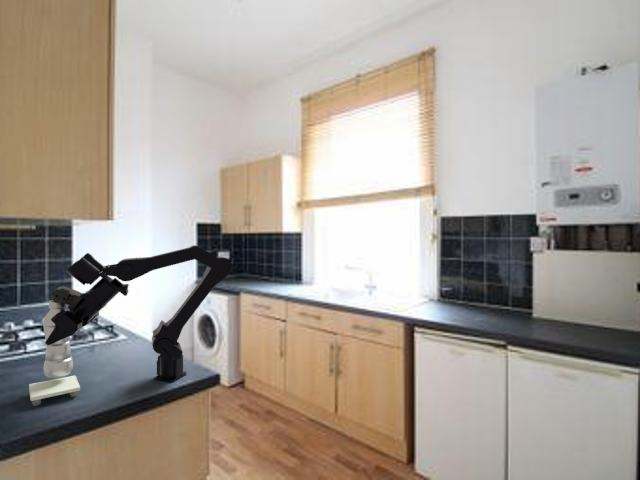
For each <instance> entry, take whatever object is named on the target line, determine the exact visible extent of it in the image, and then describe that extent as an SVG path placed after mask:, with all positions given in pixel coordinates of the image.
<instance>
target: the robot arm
mask: <svg viewBox="0 0 640 480" xmlns="http://www.w3.org/2000/svg"><path fill="white" fill-rule="evenodd" d="M194 260H196V261H197V262H199V263H201V264H202V265H204V266H206V268H205V270H204V272H203V275H202V277H201V280H200V281H199V282H198V284H197V285H196V286H195V288H194V289H193V290H192V291H191V293H190V294H189V295H188V296H187V298H186V299H185V300H184V302H183V303H182V305H180V307H179V308H178V309H177V311H176V312H175V313H174V315H172V317H171V318H170V319H169V320H167V321H166V322H165V321H163V320H161V321H160V322H159V324H158V326H157V327H156V328H155V329H154V330H152V336H151V344H152V349H153V351H154V352H155V353H156V354H158V355H157V361H156V376H154V377H153V380H156V381H157V380H158V381H163V382H164V381H165V382H175V381H176V380H179V379H181V378H182V377H184V376H185V375H187V371H184V354H183V352H184V351H183V350H182V349H183V348H182V347H181V344H180V343H179V342H178V340H179V338H180V336H181V333H182V331H183V329H184V327H185V325H186V324H187V323H188V321H189V320H190V319H191V317H192V316H193V315H194V313H195V312H196V311H197V310H198V309H199V307H200V305H201V304H202V303H203V301H204V300H205V299H206V298H207V297H208V295H209V294H210V292H211V291H212V290H213V289H214V288H215V287H216V286H217V285H219V284H220V283H221V282H222V281H224V280H225V278H226V277H228V276H229V275H230V274H231V272H232V270H233V267H232V266H233V265H232V262H231V261H230V260H229V259H228V258H226V257H223V256H216V255H214V254H212V253H211V252H208V251H207V250H205V249H204V248H202V247H200V246H199V245H191V246H188V247H186V248H181V249H177V250H173V251H169V252H165V253H160V254H157V255H152V256H147V257H131V258H123V259H121V260H120V261H118V263H116V264H115V263H114V264H107V265H103V264H102V263H101V262H100V261H98V260H97V259H96V258H94V256H93V255H92V254H91V253H89V252H87V253H85V255H84V256H82V257H81V258H79V259H78V260H76V261H75V262H73V263H72V264H71V265H70V266H69V267H68V268H67V269H66V270H65V272H66V273H67V274H69V275H70V276H71V277H73V278H74V279H75V280H77V281H78V282H79V283H80V284H82V285H83V286H85V285H89V286H91V285H92V284H94V283H95V282H96V281H97V280H98V279H99V278H101V279H100V280H98V281H97V282H96V283H95V284H94V285H93V286H92V287H91V288H89V290H87V291H85V292H80V291H78V290H76V289H73V288H71V287H68V286H64V285H62V286H59V287H56V289H55V291H53V292H52V297H51V300H53V301H58V302H61V303H64V304H66V308H67V309H68V310H67V309H66V310H67V311H61V312H59V313H57V314H56V315H55V316H54V317H53V318H52V319H51V321H52V322H53V323H55V328H54V330H53V331H52V333H51V334H50V336H49V337H48V339H47V340H45V342H44V343H45V345H46V344H47V345H51V344H53V343H55V342H57V341H60V340H62V339H64V338H66V337H69V336H70V337H72V336H74V335H75V334H77V332H78V331H80V330H81V329H82V328H83V327H85V326H88V325H89V324H90V323H91V322H93V321H94V320H95V319H96V318H97V317H99V316H100V311H101V310H102V309H103V308H105V307H106V306H107V304H108V303H109V302H111V301H112V300H113V299H114V297H116V296H117V295H118V294H119V293H120V294H122V295H123V296H125V297H126V296H128V294H129V285H130V284H128V283H125V284H124V283H122V282H131V281H133V280H135V279H138V278H140V277H141V276H142V277H143V276H144V275H146V274H148V273H151V272H152V271H155V270H158V269H159V270H160V269H163V268H166V267H171V266H173V265H174V266H175V265H178V264H181V263H185V262H189V261H194ZM111 277H112V278H111ZM113 277H114V278H113ZM121 281H122V282H121Z"/></svg>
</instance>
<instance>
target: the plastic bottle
mask: <svg viewBox="0 0 640 480" xmlns="http://www.w3.org/2000/svg"><path fill="white" fill-rule="evenodd" d="M66 308H67V305H66V304H64V303H61V302H58V301H53V300H52V299H51V300H49V301H48V309H49V311H48V312H47V314H46V315H45V317H44V318H43V321H42V325H43V326H42V327H43V332H44V337H45V338H44V339H45V341H46V340H47V339H48V337H49V336H50V334H51V333H52V331H53V330H54V328H55V323H53V322H52V321H51V319H52V318H53V317H54V316H55V315H56V314H57V313H59V312H61V311H67V309H66ZM44 359H45V360H44V363H43V375H44V376H45V377H46V378H48V379H59V378H64V377H67V376H68V375H70V374H71V373H72V371H73V368H74V367H73V366H74V361H73V360H74V359H73V356H72V350H71V336H69V337H66V338H64V339H62V340H60V341H57V342H55V343H53V344H51V345H47V344H45V358H44Z"/></svg>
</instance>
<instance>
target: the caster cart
mask: <svg viewBox="0 0 640 480" xmlns="http://www.w3.org/2000/svg"><path fill="white" fill-rule="evenodd" d="M28 389H29V399H30V402H31V403H32V406H34V407H38V406H39V405H41V403H42V399H46V398H51V397H56V396H61V395H65V394H69V395H70V397H71V398H76V397H78V395H79V391H81V385H80V383H79V381H78V378H77V375H71V376H63V377H58V378H53V379H49V380H46V381H40V382H39V381H38V382H34V383H29V385H28Z"/></svg>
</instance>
